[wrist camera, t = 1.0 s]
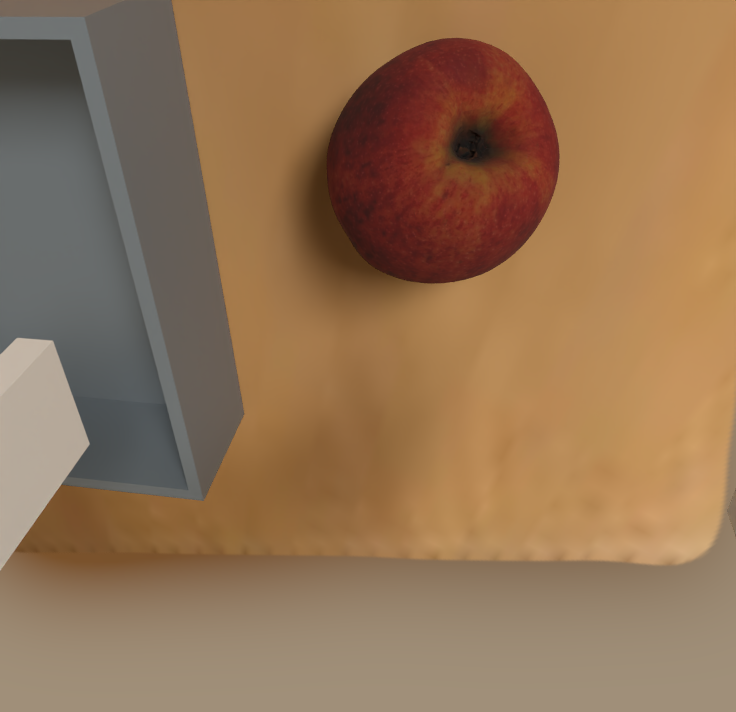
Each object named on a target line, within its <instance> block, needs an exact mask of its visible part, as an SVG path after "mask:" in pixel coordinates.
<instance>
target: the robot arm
mask: <svg viewBox="0 0 736 712" xmlns="http://www.w3.org/2000/svg"><path fill="white" fill-rule="evenodd" d="M89 444H90V443H89V440H88V438H87V435H86V432H85V429H84V426H83V424H82V421H81V418H80V415H79V412H78V410H77V407H76V404H75V401H74V398H73V396H72V393H71V390H70V387H69V384H68V382H67V379H66V376H65V373H64V370H63V368H62V365H61V362H60V359H59V356H58V354H57V351H56V348H55V345H54V342H53V341H51V340H39V339H26V338H16V339H15V340H14V341H13V342H12V343H11V344H10V345H9V346H8V347H7V348H6V349H5V350H4V351H3V352H2V353H1V354H0V570H1V569H2V567H3V566H4V565H5V563H6V562H7V560H8V559H9V558H10V556H11V555H12V553H13V552H14V551H15V549H16V548H17V546H18V545H19V543H20V542H21V541H22V539H23V538H24V536H25V535H26V534H27V532H28V531H29V529H30V528H31V526H32V525H33V524H34V522H35V521H36V519H37V518H38V517H39V515H40V514H41V512H42V511H43V510H44V508H45V507H46V505H47V504H48V502H49V501H50V500H51V498H52V497H53V495H54V494H55V493H56V491H57V490H58V488H59V487H60V485H61V484H62V483H63V481H64V480H65V478H66V477H67V476H68V474H69V473H70V471H71V470H72V469H73V467H74V466H75V464H76V463H77V461H78V460H79V459H80V457H81V456H82V454H83V453H84V452H85V450H86V449H87V447H88V446H89ZM727 512H728V515H729V518H730V521H731V524H732V527H733V530H734V533H735V536H736V490H735V492H734V495H733V497H732V500H731V502H730V505H729V507H728V509H727Z"/></svg>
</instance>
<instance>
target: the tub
mask: <svg viewBox="0 0 736 712" xmlns="http://www.w3.org/2000/svg"><path fill="white" fill-rule="evenodd" d="M16 338H26V339H39V340H51V341H53V342H54V345H55V348H56V351H57V354H58V356H59V359H60V362H61V365H62V368H63V370H64V373H65V376H66V379H67V382H68V384H69V387H70V390H71V393H72V396H73V398H74V401H75V404H76V407H77V410H78V412H79V415H80V418H81V421H82V424H83V426H84V429H85V432H86V435H87V438H88V440H89V443H90V444H89V446H88V447H87V449H86V450H85V452H84V453H83V454H82V456H81V457H80V459H79V460H78V461H77V463H76V464H75V466H74V467H73V469H72V470H71V471H70V473H69V474H68V476H67V477H66V478H65V480H64V481H63V483H62V484H61V485H68V486H77V487H86V488H95V489H104V490H113V491H122V492H130V493H139V494H148V495H157V496H166V497H175V498H184V499H193V500H201V501H204V499H205V497H206V495H207V493H208V490H209V488H210V486H211V484H212V482H213V480H214V478H215V475H216V473H217V471H218V469H219V467H220V465H221V463H222V460H223V458H224V456H225V454H226V452H227V450H228V448H229V445H230V443H231V441H232V439H233V437H234V435H235V433H236V430H237V428H238V426H239V424H240V422H241V420H242V418H243V415H244V410H243V404H242V399H241V393H240V387H239V382H238V376H237V370H236V365H235V359H234V353H233V348H232V342H231V336H230V331H229V325H228V319H227V314H226V308H225V302H224V297H223V291H222V285H221V280H220V274H219V268H218V263H217V257H216V251H215V246H214V240H213V234H212V229H211V223H210V217H209V212H208V206H207V200H206V195H205V189H204V183H203V178H202V172H201V166H200V161H199V155H198V149H197V144H196V138H195V132H194V127H193V121H192V115H191V110H190V104H189V98H188V93H187V87H186V81H185V76H184V70H183V64H182V59H181V53H180V47H179V42H178V36H177V30H176V25H175V19H174V13H173V8H172V2H171V0H0V354H1V353H2V352H3V351H4V350H5V349H6V348H7V347H8V346H9V345H10V344H11V343H12V342H13V341H14V340H15V339H16Z"/></svg>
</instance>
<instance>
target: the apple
mask: <svg viewBox="0 0 736 712" xmlns="http://www.w3.org/2000/svg"><path fill="white" fill-rule="evenodd" d="M558 171H559V144H558V138H557V133H556V130H555V126H554V123H553V120H552V118H551V115H550V113H549V110H548V108H547V105H546V103H545V101H544V99H543V97H542V96H541V94H540V92H539V90H538V89H537V87H536V86H535V84H534V83H533V81H532V80H531V78H530V77H529V75H528V74H527V73H526V72H525V71H524V69H523V68H522V67H521V66H520V65H519V64H518V63H517V62H516V61H515V60H514V59H513V58H512V57H511V56H509V55H508V54H507V53H505V52H504V51H502V50H500V49H498V48H496V47H494V46H492V45H489V44H486V43H483V42H481V41H477V40H471V39H463V38H447V39H439V40H435V41H430V42H426V43H424V44H421V45H419V46H416V47H414V48H412V49H410V50H408V51H405V52H404V53H402V54H400V55H398V56H397V57H395V58H393V59H392V60H390V61H389V62H387V63H386V64H384V65H383V66H382V67H380V68H379V69H377V70H376V71H375V72H374V73H373V74H372V75H370V76H369V77H368V78H367V79H366V80H365V81H364V82H363V83H362V84H361V86H360V87H359V88H358V89H357V90H356V91H355V93H354V94H353V95H352V97H351V98H350V100H349V101H348V103H347V104H346V106H345V107H344V109H343V111H342V112H341V114H340V116H339V118H338V120H337V123H336V125H335V128H334V130H333V133H332V136H331V139H330V143H329V147H328V154H327V181H328V189H329V195H330V199H331V203H332V206H333V209H334V212H335V214H336V216H337V219H338V221H339V222H340V224H341V226H342V227H343V229H344V231H345V232H346V234H347V236H348V237H349V239H350V241H351V242H352V244H353V246H354V247H355V249H356V250H357V252H358V253H359V254H360V255H361V256H362V257H363V258H364V259H365V260H366V261H367V262H368V263H369V264H370V265H372V266H373V267H374V268H376V269H378V270H380V271H382V272H383V273H386V274H388V275H391V276H393V277H396V278H400V279H403V280H407V281H413V282H420V283H448V282H455V281H460V280H465V279H468V278H472V277H475V276H478V275H481V274H483V273H485V272H487V271H490V270H492V269H493V268H495V267H496V266H498V265H500V264H501V263H503V262H504V261H506V260H507V259H508V258H510V257H511V256H512V255H513V254H514V253H515V252H516V251H517V250H518V249H520V248H521V247H522V246H523V245H524V243H525V242H526V241H527V240H528V239H529V237H530V236H531V235H532V233H533V232H534V231H535V229H536V228H537V226H538V225H539V223H540V221H541V220H542V218H543V216H544V214H545V212H546V210H547V208H548V206H549V204H550V201H551V199H552V196H553V193H554V190H555V186H556V183H557V178H558Z"/></svg>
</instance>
